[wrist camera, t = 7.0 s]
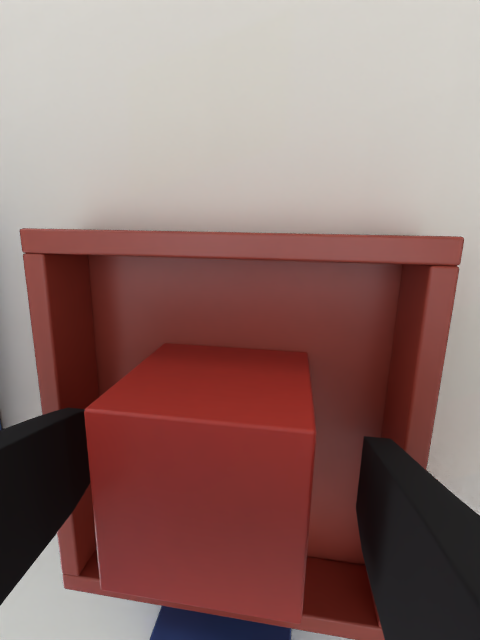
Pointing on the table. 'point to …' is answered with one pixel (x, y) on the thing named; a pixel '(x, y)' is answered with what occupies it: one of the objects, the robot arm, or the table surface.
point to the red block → (206, 479)
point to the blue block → (211, 627)
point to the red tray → (256, 333)
